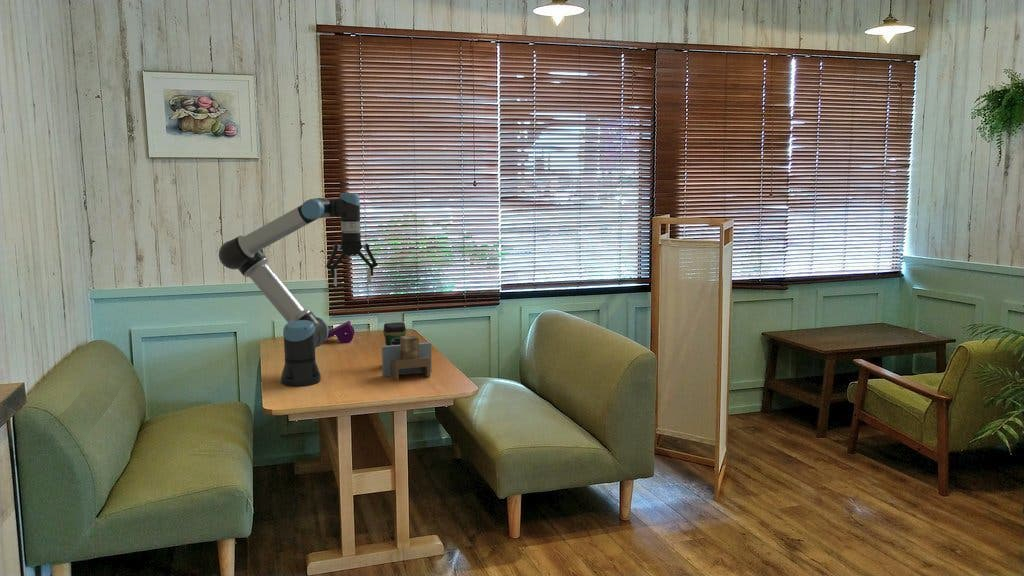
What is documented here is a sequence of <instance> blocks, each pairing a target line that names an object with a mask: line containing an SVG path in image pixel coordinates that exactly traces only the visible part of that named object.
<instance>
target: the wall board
mask: <svg viewBox="0 0 1024 576" xmlns="http://www.w3.org/2000/svg"><path fill="white" fill-rule="evenodd" d="M381 360H382V361H381V364H382V376H383V377H390V376H391V378H393V379H394V380H395V381H400V376H401V375H400V374H402V375H412V374H411V373H413V374H423V375H424V376H425V377H426V378H431V372H433V371H432V343H431V342H430V341H429V342H427V341H426V342H419V358H413V359H402V360H401V345H390V346H385V345H383V346H381Z"/></svg>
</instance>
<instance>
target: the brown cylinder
mask: <svg viewBox="0 0 1024 576" xmlns="http://www.w3.org/2000/svg"><path fill="white" fill-rule="evenodd" d="M419 339H420V338H419V336H416V335H415V334H414V335H405V336H400V345H401V360H402V359H413V358H419V343H420V342H419Z"/></svg>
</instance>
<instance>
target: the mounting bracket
mask: <svg viewBox="0 0 1024 576" xmlns="http://www.w3.org/2000/svg"><path fill="white" fill-rule="evenodd" d="M354 336H355V328H354V327H353V325H352V323H351V321H350V320H348V321H346V322H343V323H342V324H340V325H338V326H335V327H334V328H331V329H330V330H329V329H328V337H327V339H326V340H328V339H330V338H332V337H336V338H337V340H338V341H339V342H340V343H341V344H349V343H351V342H352V341H353V339H354Z"/></svg>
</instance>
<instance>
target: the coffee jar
mask: <svg viewBox="0 0 1024 576" xmlns="http://www.w3.org/2000/svg"><path fill="white" fill-rule="evenodd" d="M383 336H384V339H385V340H384V342H385V343H384V346H390V345H400V336H407V327H406V324H405V323H404V322H403V321H400V322H399V321H398V322H396V321H395V322H387V323H384V325H383Z"/></svg>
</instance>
